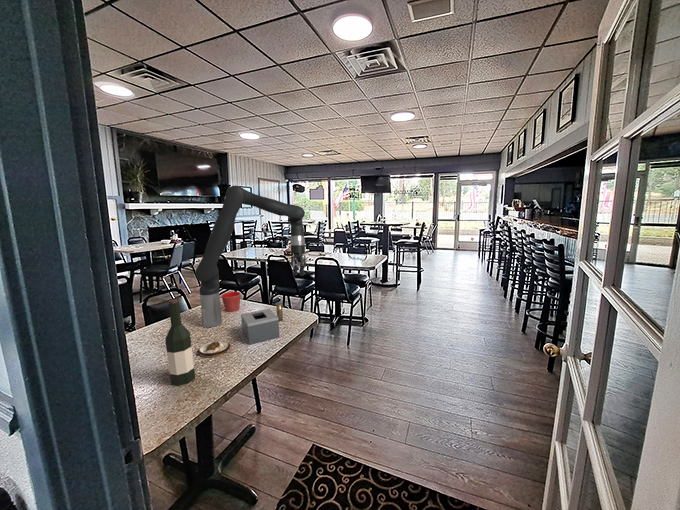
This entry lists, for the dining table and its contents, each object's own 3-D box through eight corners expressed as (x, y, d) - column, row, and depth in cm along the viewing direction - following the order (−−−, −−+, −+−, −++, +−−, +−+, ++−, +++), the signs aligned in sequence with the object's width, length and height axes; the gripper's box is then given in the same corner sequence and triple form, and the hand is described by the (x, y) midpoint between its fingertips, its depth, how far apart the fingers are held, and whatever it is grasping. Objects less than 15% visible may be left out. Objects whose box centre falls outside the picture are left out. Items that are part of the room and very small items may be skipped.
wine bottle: (176, 373, 113) (166, 297, 108) (199, 371, 114) (190, 296, 109) (166, 386, 105) (154, 305, 100) (190, 385, 106) (180, 303, 101)
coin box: (249, 345, 135) (247, 324, 133) (242, 333, 147) (240, 314, 145) (279, 337, 141) (278, 317, 140) (270, 327, 153) (269, 308, 152)
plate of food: (213, 363, 121) (211, 354, 120) (188, 355, 127) (187, 346, 127) (240, 347, 134) (239, 338, 133) (216, 341, 140) (215, 332, 140)
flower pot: (219, 312, 176) (217, 296, 174) (229, 306, 186) (227, 291, 185) (236, 313, 174) (234, 297, 172) (244, 306, 185) (243, 291, 183)
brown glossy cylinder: (278, 322, 160) (277, 305, 158) (276, 320, 163) (275, 303, 161) (283, 320, 161) (282, 304, 160) (281, 319, 164) (280, 302, 162)
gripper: (286, 245, 163) (286, 275, 163) (296, 243, 151) (297, 276, 150) (299, 245, 167) (299, 274, 166) (310, 244, 155) (310, 275, 154)
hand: (298, 275), depth 158 cm, fingers open, 8 cm apart
